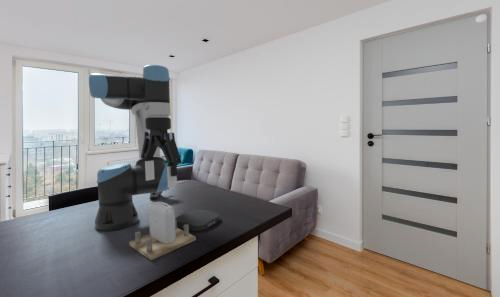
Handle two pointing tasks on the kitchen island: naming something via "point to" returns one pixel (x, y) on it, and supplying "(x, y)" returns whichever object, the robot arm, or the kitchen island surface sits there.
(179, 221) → the media streaming box
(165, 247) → the peg board
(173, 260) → the kitchen island surface
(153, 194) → the figurine
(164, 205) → the photo printer
